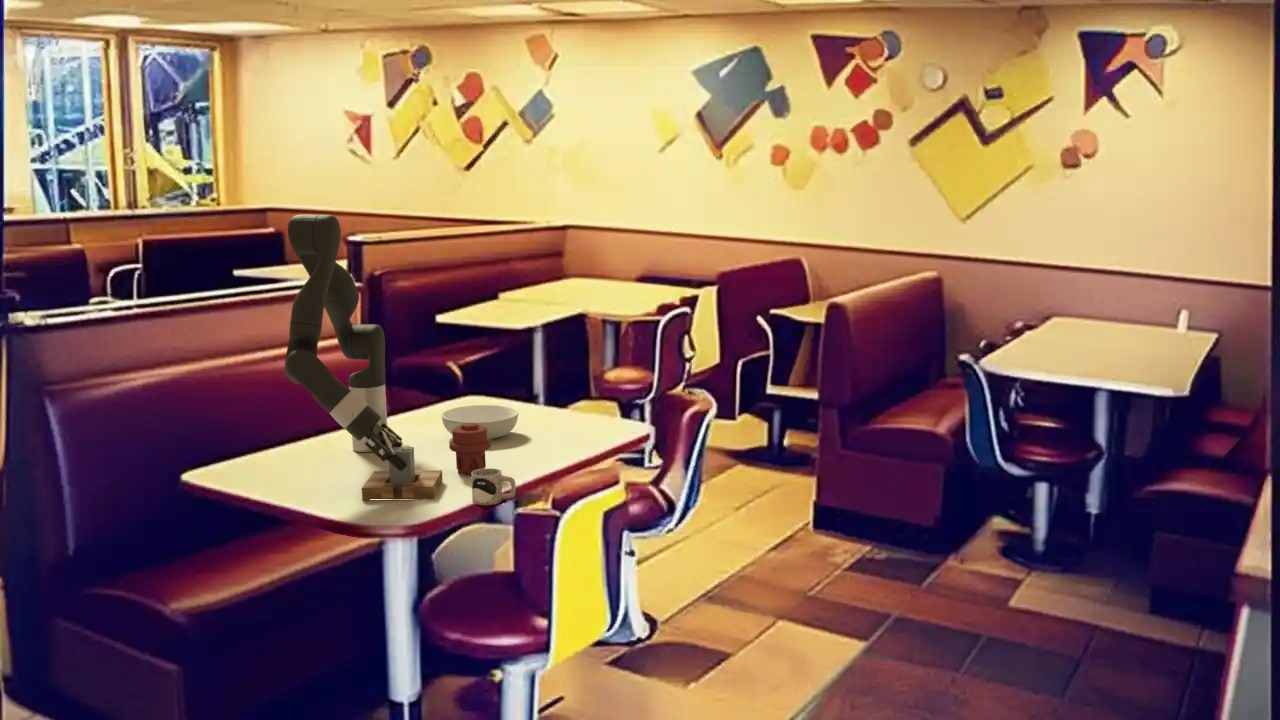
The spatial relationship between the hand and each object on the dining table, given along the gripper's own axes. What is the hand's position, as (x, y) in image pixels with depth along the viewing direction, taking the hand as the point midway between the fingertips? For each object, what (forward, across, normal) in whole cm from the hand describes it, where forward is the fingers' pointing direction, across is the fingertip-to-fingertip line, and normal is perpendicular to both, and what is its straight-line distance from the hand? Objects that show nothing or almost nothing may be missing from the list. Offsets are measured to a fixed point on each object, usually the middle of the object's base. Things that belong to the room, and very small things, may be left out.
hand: (407, 463), depth 270 cm
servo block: (+3, 0, +5) cm, 6 cm away
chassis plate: (+4, 0, +6) cm, 7 cm away
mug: (+20, -9, -10) cm, 24 cm away
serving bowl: (+12, +52, -3) cm, 54 cm away
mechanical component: (+14, +14, -4) cm, 20 cm away
